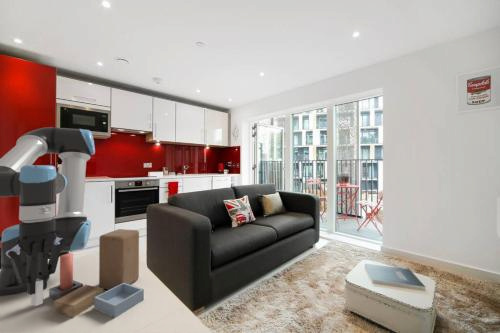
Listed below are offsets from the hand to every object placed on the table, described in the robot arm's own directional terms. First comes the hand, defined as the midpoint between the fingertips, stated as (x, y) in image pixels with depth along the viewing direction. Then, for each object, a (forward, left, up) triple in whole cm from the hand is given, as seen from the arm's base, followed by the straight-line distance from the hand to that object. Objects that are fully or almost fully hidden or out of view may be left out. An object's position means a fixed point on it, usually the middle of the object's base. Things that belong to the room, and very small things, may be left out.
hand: (37, 303), depth 64 cm
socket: (-11, +13, -7) cm, 19 cm away
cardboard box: (0, +11, -7) cm, 13 cm away
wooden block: (-1, +26, -7) cm, 27 cm away
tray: (+11, +17, -7) cm, 21 cm away
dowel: (-11, +13, -7) cm, 19 cm away
